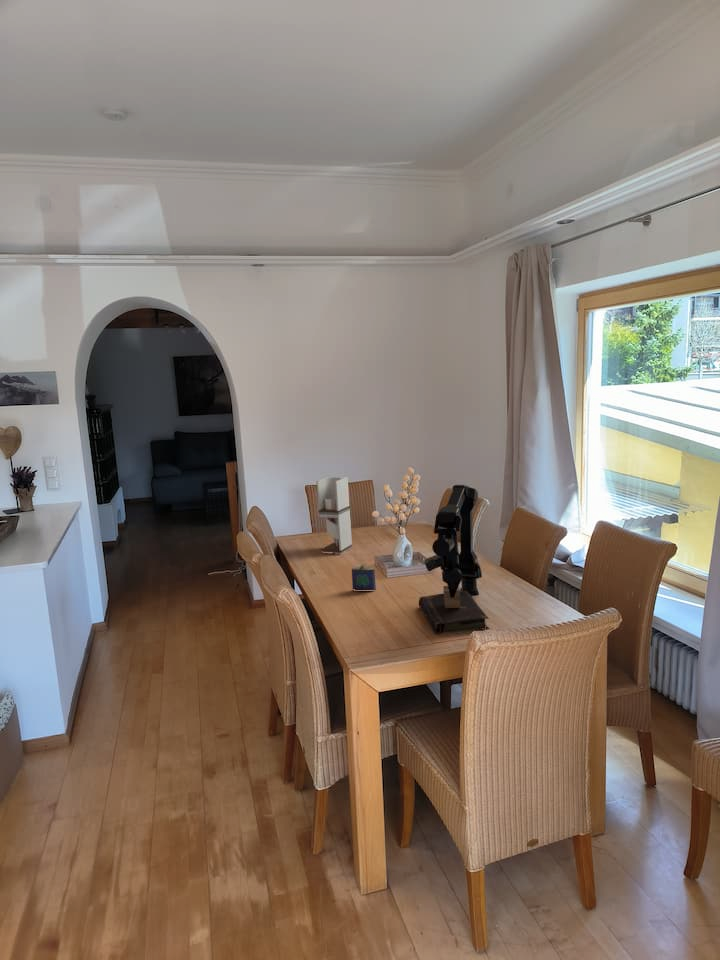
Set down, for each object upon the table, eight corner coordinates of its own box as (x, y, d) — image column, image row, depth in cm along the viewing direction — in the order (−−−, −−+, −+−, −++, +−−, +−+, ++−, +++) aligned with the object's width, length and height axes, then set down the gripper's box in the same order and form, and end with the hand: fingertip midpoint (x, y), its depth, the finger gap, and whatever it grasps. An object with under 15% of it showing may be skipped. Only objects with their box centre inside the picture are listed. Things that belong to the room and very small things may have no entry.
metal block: (444, 602, 217) (443, 586, 216) (458, 602, 217) (458, 585, 216) (445, 608, 212) (444, 591, 211) (460, 607, 212) (459, 590, 211)
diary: (434, 637, 202) (434, 622, 201) (419, 609, 227) (418, 596, 226) (491, 630, 204) (491, 616, 203) (469, 603, 228) (469, 590, 228)
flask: (376, 589, 248) (374, 563, 246) (375, 592, 245) (373, 565, 243) (353, 589, 250) (351, 563, 248) (351, 591, 247) (350, 565, 245)
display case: (333, 546, 313) (328, 477, 307) (352, 548, 308) (347, 477, 303) (321, 553, 303) (316, 481, 297) (341, 554, 298) (336, 481, 293)
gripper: (424, 541, 221) (426, 584, 224) (426, 556, 203) (428, 603, 205) (456, 540, 220) (458, 583, 223) (461, 555, 202) (462, 602, 204)
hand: (451, 592), depth 214 cm, fingers open, 9 cm apart
